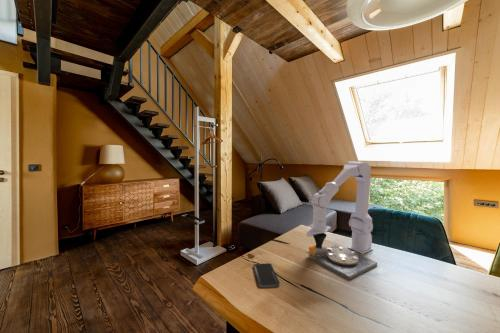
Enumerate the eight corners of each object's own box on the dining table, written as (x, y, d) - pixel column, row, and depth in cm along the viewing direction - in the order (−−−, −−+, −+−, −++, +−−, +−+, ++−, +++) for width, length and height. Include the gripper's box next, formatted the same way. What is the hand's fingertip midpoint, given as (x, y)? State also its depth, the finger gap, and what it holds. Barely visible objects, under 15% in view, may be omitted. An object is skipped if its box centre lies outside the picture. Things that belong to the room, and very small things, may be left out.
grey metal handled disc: (309, 247, 104) (309, 240, 104) (355, 253, 98) (356, 246, 98) (308, 259, 92) (308, 251, 92) (361, 267, 86) (361, 259, 86)
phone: (258, 286, 75) (252, 264, 90) (258, 289, 75) (252, 266, 90) (280, 284, 76) (271, 263, 91) (280, 287, 76) (271, 265, 91)
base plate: (335, 248, 108) (336, 244, 108) (377, 265, 91) (377, 262, 91) (308, 258, 97) (308, 254, 97) (349, 280, 80) (349, 276, 80)
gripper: (322, 215, 105) (321, 242, 106) (301, 219, 98) (301, 248, 98) (335, 218, 99) (334, 247, 100) (314, 224, 92) (313, 255, 92)
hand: (318, 248), depth 99 cm, fingers closed, pressing on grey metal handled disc
